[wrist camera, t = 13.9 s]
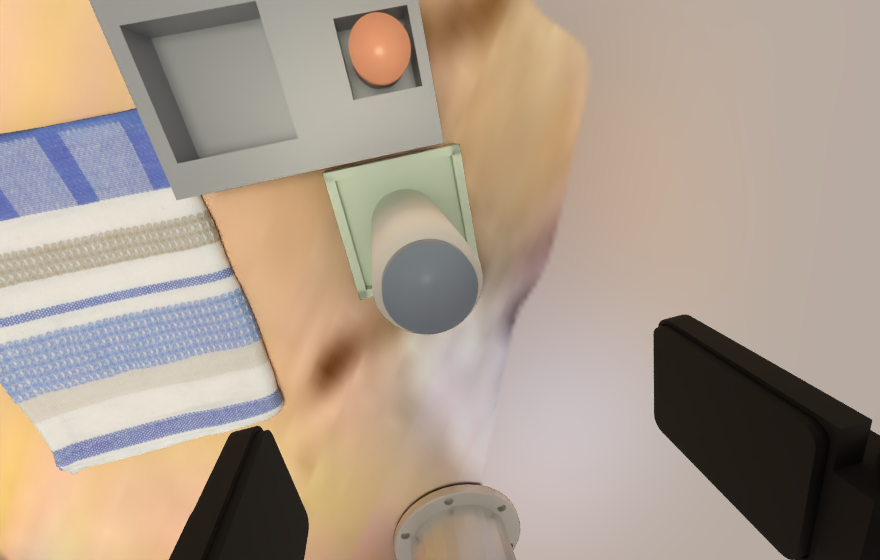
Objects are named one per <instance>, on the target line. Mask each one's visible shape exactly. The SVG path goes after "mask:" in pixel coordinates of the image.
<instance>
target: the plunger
mask: <svg viewBox="0 0 880 560" xmlns="http://www.w3.org/2000/svg"><path fill="white" fill-rule="evenodd" d="M349 53H350V57H351V60H352V64H353V67H354V70H355V72H356V74H357V76H358V77H359V78H360V80H361V81H362V82H364V83H365V84H366V85H368V86H370V87H372V88H376V89H385V88H389V87H391V86H393V85H394V84H395V83H397V82H398V80H399V79H400V78H401V76H402V74H403V73H404V71H405V69H406V67H407V65H408V63H409V60H410V56H411V44H410V39H409V36H408V33H407V32H406V30H405V28H404V27H403V25H402V24H401V23H400V22H399V21H398V20H397V19H396V18H394V17H393V16H391V15H389V14H386V13H382V12H373V13H369V14H366V15H364V16H363V17H361V18H360V19H359V20H358V21H357V22H356V23H355V25H354V26H353V28H352V30H351V33H350V36H349Z"/></svg>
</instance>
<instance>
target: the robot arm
mask: <svg viewBox="0 0 880 560" xmlns="http://www.w3.org/2000/svg"><path fill="white" fill-rule="evenodd" d="M654 416H655V420H656V423H657V425H658V427H659V429H660V430H661V431H662V432H663V433H664V434H665V435H666V436H667V437H668V438H669V440H670V441H672V443H674V445H675V446H676V447H677V448H678V449H679V450H680V451H681V452H682V453H683V454H684V455H685V456H686V457H687V458H688V459H689V460H690V461H691V462H692V463H693V464H694V465H695V466H696V467H697V468H698V469H699V470H700V471H701V472H702V473H703V474H704V475H705V476H706V477H707V478H708V480H709V481H711V482H712V484H713V485H714V486H715V487H716V488H717V489H718V490H719V491H720V492H721V493H722V494H723V495H724V496H725V497H726V498H727V499H728V500H729V501H730V502H731V503H732V504H733V505H734V506H735V507H736V508H737V509H738V510H739V511H740V512H741V513H742V514H743V515H744V516H745V518H747V520H748V521H750V523H751V524H752V525H753V526H754V527H755V528H756V529H757V530H758V531H759V532H760V533H761V534H762V535H763V536H764V537H765V538H766V539H767V540H768V541H769V542H770V543H771V544H772V545H773V546H774V547H775V548H776V549H777V550H778V551H779V552H780V553H781V554H782V555H783V556H784V557H786V558H788V559H791V560H880V435H878V434H876V433H875V432H873V431H871V430H870V428H871V423H872V420H871V419H870V418H868V417H866V416H864V415H863V414H861V413H859V412H857V411H856V410H854V409H852V408H850V407H849V406H847V405H845V404H843V403H842V402H840V401H838V400H836V399H835V398H833V397H831V396H829V395H828V394H826V393H824V392H822V391H821V390H819V389H817V388H815V387H814V386H812V385H810V384H808V383H807V382H805V381H803V380H801V379H800V378H798V377H796V376H794V375H793V374H791V373H789V372H787V371H786V370H784V369H782V368H780V367H779V366H777V365H775V364H773V363H772V362H770V361H768V360H766V359H765V358H763V357H761V356H759V355H758V354H756V353H754V352H752V351H750V350H749V349H747V348H745V347H744V346H742V345H740V344H738V343H737V342H735V341H733V340H731V339H730V338H728V337H726V336H724V335H723V334H721V333H719V332H717V331H716V330H714V329H712V328H710V327H709V326H707V325H705V324H703V323H702V322H700V321H698V320H696V319H695V318H693V317H691V316H689V315H680V316H676V317H672V318H668V319H664V320H662V321H661V322H660V323H659V326H658V328H656V329H655V330H654ZM308 530H309V523H308V516H307V513H306V510H305V508H304V506H303V503H302V501H301V499H300V497H299V494H298V492H297V490H296V487H295V485H294V483H293V481H292V478H291V476H290V474H289V471H288V469H287V467H286V464H285V462H284V460H283V458H282V455H281V453H280V451H279V448H278V446H277V444H276V441H275V439H274V437H273V435H272V433H271V432H270V431H269V430H265V431H263V429H262V428H261V427H260V426H255V427H251V428H247V429H243V430H240V431H236V432H233V433H231V434H230V436H229V437H228V439H227V441H226V443H225V445H224V447H223V450H222V452H221V454H220V456H219V458H218V460H217V462H216V464H215V466H214V469H213V471H212V473H211V475H210V477H209V479H208V481H207V483H206V485H205V487H204V490H203V492H202V494H201V496H200V498H199V500H198V502H197V504H196V506H195V508H194V510H193V512H192V513H191V515H190V517H189V519H188V521H187V523H186V525H185V527H184V529H183V531H182V533H181V535H180V538H179V540H178V542H177V544H176V546H175V548H174V550H173V552H172V554H171V556H170V558H169V560H304V556H305V549H306V543H307V537H308ZM519 534H520V521H519V518H518V515H517V512H516V510H515V508H514V506H513V504H512V503H511V502H510V500H509V499H508V498H507V497H506V496H505V495H503V494H502V493H500V492H499V491H497V490H494V489H492V488H490V487H486V486H481V485H470V484H464V485H454V486H450V487H446V488H442V489H440V490H437V491H435V492H432V493H430V494H428V495H427V496H425V497H423V498H421V499H420V500H419V501H417V502H416V503H415V504H414V505H412V506H411V507H410V508H409V509H408V510H407V511H406V513H405V514H404V515H403V516H402V518H401V520H400V521H399V523H398V525H397V528H396V531H395V537H394V547H395V556H396V559H397V560H516V558H515V556H514V552H513V550H514V548H515V546H516V544H517V541H518V539H519Z"/></svg>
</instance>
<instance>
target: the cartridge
mask: <svg viewBox="0 0 880 560" xmlns="http://www.w3.org/2000/svg"><path fill="white" fill-rule="evenodd" d="M482 285H483V275H482V268H481V264H480V262H479V259H478V257H477V255H476V254H475V252H474V251H473V249H472V248H471V247H470V246H469V244H468V243H467V242H466V241H465V240H464V238H463V237H462V236H461V235H460V234H459V232H458V231H457V230H456V229H455V228H454V226H453V225H452V224H451V223H450V222H449V220H448V219H447V218H446V217H445V216H444V214H443V213H442V212H441V211H440V210H439V208H438V207H437V206H436V205H435V204H434V202H433V201H432V200H431V199H430V198H429V197H428V196H426V195H425V194H423V193H422V192H419V191H417V190H413V189H400V190H396V191H393V192H391V193H389V194H387V195H386V196H384V197H383V198H382V199H381V200H380V201H379V203H378V204H377V205H376V207H375V209H374V212H373V216H372V292H373V296H374V300H375V302H376V305H377V307H378V308H379V310H380V312H381V313H382V314H383V316H384V317H385V318H386V319H387V320H388V321H390V322H391V323H392V324H393V325H395V326H397V327H398V328H401V329H403V330H405V331H408V332H412V333H418V334H436V333H441V332H444V331H447V330H449V329H451V328H453V327H455V326H457V325H458V324H459V323H461V322H462V321H463V320H464V319H465V318H466V317H467V316H468V315H469V314H470V312H471V311H472V310H473V308H474V307H475V305H476V304H477V301H478V299H479V297H480V294H481V290H482Z"/></svg>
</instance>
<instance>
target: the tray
mask: <svg viewBox="0 0 880 560" xmlns="http://www.w3.org/2000/svg"><path fill="white" fill-rule="evenodd" d="M323 176H324V179H325V183H326V186H327V190H328V193H329V196H330V200H331V203H332V207H333V210H334V213H335V217H336V220H337V223H338V227H339V230H340V234H341V237H342V240H343V244H344V247H345V251H346V254H347V257H348V261H349V264H350V267H351V271H352V274H353V278H354V281H355V284H356V288H357V291H358V295H359V298H360V300H361V299H365V298H369V297H374V296H373V292H372V216H373V212H374V209H375V207H376V205H377V204H378V203H379V201H380V200H381V199H382V198H383V197H384V196H386V195H387V194H389V193H391V192H393V191H396V190H400V189H413V190H417V191H419V192H422V193H423V194H425V195H426V196H428V197H429V198H430V199H431V200H432V201H433V202H434V204H435V205H436V206H437V207H438V208H439V210H440V211H441V212H442V213H443V214H444V216H445V217H446V218H447V219H448V220H449V222H450V223H451V224H452V225H453V226H454V228H455V229H456V230H457V231H458V232H459V234H460V235H461V236H462V237H463V238H464V240H465V241H466V242H467V243H468V244H469V246H470V247H471V248H472V249H473V251H474V252H475V254H476V255H477V257H478V252H477V246H476V240H475V234H474V228H473V222H472V216H471V210H470V204H469V199H468V193H467V187H466V181H465V175H464V169H463V163H462V157H461V151H460V145H459V144H456V143H453V144H448V145H444V146H439V147H435V148H430V149H425V150H421V151H416V152H411V153H407V154H402V155H398V156H393V157H388V158H384V159H379V160H375V161H370V162H365V163H361V164H356V165H351V166H347V167H342V168H338V169H333V170H328V171H325V172H324V173H323ZM478 259H479V258H478Z"/></svg>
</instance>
